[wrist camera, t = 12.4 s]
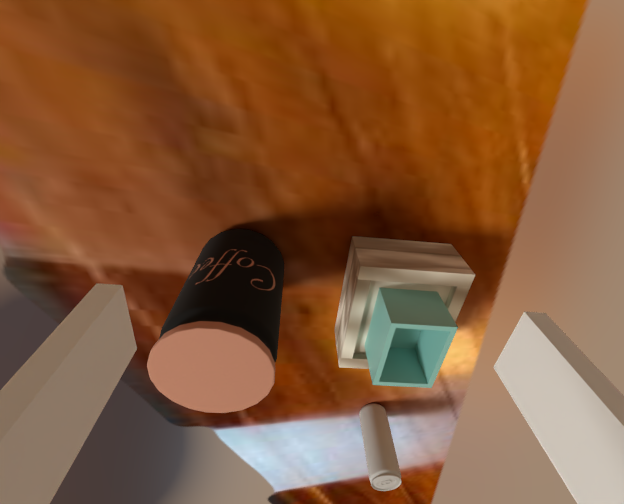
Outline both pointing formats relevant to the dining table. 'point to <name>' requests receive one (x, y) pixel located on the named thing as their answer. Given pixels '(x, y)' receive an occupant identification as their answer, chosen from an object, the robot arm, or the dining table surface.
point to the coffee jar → (223, 327)
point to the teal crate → (408, 337)
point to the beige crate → (393, 285)
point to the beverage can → (379, 448)
